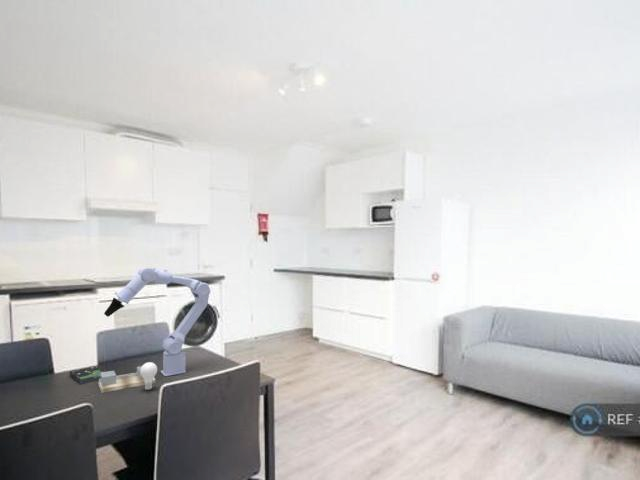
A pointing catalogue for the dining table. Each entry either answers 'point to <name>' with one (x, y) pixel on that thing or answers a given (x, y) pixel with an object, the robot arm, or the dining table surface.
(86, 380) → the disk drive
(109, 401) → the dining table surface
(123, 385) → the rail board
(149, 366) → the lightbulb
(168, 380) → the dining table surface
